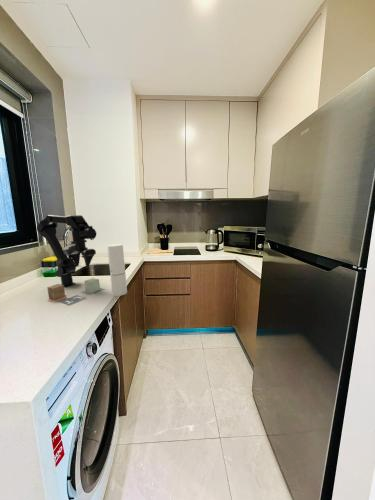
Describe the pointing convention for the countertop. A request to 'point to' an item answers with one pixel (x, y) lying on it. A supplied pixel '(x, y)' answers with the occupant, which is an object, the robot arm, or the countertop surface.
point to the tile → (72, 300)
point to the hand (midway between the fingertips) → (82, 266)
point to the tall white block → (117, 269)
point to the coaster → (58, 299)
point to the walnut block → (56, 292)
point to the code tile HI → (92, 293)
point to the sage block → (92, 285)
